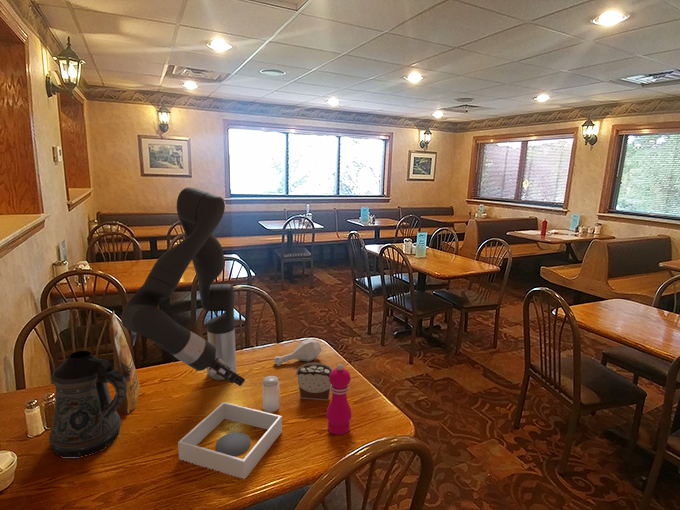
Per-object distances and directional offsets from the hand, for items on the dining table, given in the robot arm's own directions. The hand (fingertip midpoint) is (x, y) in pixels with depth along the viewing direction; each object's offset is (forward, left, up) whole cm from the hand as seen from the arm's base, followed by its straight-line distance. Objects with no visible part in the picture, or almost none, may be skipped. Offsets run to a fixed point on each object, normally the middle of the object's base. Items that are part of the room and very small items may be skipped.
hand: (235, 376), depth 117 cm
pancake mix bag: (-38, -3, -15) cm, 41 cm away
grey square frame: (+5, -9, -15) cm, 18 cm away
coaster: (+5, -9, -15) cm, 18 cm away
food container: (+16, +22, -15) cm, 31 cm away
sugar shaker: (+6, +10, -15) cm, 19 cm away
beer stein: (-32, -20, -15) cm, 41 cm away
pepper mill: (+29, +8, -15) cm, 33 cm away
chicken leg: (0, +40, -15) cm, 43 cm away
